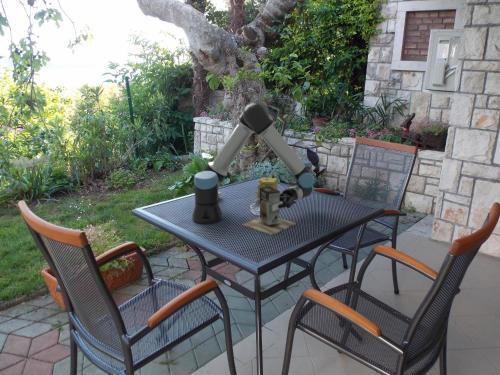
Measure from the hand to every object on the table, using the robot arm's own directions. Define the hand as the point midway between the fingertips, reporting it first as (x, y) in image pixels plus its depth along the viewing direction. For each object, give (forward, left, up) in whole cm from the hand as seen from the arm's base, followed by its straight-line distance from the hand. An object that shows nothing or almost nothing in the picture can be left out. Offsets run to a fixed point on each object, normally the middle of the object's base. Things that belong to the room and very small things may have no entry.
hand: (263, 205), depth 190 cm
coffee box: (+4, 0, -9) cm, 10 cm away
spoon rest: (+9, +48, -12) cm, 51 cm away
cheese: (+40, +31, -11) cm, 52 cm away
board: (+4, 0, -11) cm, 12 cm away
